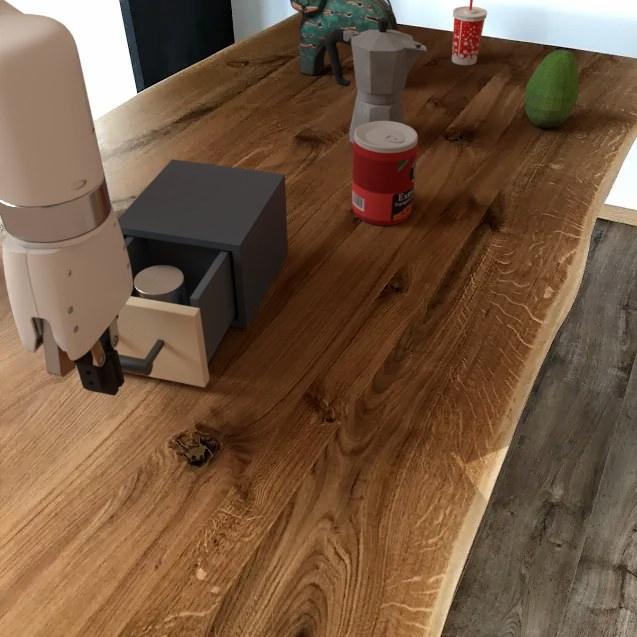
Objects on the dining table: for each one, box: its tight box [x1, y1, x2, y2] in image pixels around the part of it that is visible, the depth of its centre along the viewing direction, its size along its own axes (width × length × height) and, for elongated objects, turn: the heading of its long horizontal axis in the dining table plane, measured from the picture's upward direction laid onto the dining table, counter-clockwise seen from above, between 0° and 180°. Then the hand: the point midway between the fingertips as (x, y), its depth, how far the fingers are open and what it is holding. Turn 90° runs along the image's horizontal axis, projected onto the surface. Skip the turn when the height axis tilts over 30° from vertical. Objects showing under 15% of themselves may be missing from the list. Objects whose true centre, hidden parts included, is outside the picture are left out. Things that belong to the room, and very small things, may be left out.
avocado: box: [523, 49, 580, 129], centre depth 112 cm, size 8×8×12 cm
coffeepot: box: [325, 18, 428, 145], centre depth 108 cm, size 15×9×18 cm, turn 65°
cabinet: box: [117, 159, 289, 330], centre depth 81 cm, size 15×14×11 cm
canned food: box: [351, 121, 419, 226], centre depth 93 cm, size 8×8×11 cm
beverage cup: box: [451, 0, 488, 66], centre depth 133 cm, size 6×6×14 cm
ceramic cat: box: [289, 0, 399, 77], centre depth 125 cm, size 20×6×20 cm, turn 61°
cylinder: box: [134, 265, 188, 306], centre depth 73 cm, size 5×5×6 cm
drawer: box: [114, 235, 238, 388], centre depth 72 cm, size 18×13×9 cm
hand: (104, 386), depth 64 cm, fingers closed
